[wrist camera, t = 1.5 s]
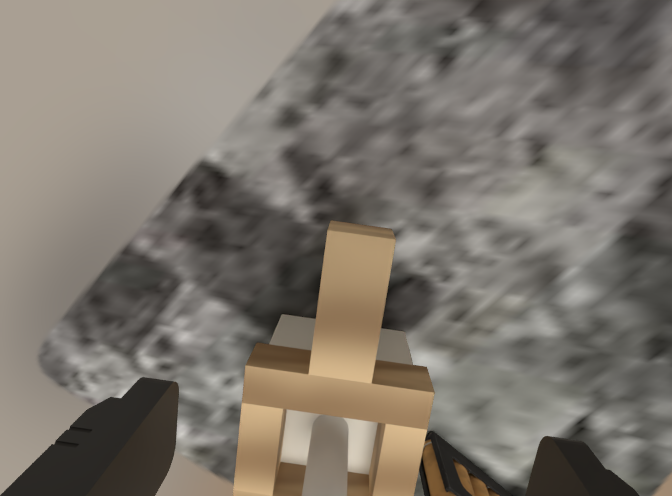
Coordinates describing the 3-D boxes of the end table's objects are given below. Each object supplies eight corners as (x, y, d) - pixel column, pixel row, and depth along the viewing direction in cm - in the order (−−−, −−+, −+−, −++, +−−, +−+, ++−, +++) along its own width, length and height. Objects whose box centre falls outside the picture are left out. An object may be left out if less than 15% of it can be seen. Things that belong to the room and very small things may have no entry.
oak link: (270, 211, 22) (259, 220, 20) (452, 237, 22) (464, 249, 20) (242, 486, 26) (230, 522, 23) (398, 509, 26) (402, 547, 23)
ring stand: (282, 314, 29) (197, 509, 14) (404, 331, 29) (460, 548, 14) (269, 422, 31) (182, 702, 16) (384, 439, 31) (413, 738, 15)
